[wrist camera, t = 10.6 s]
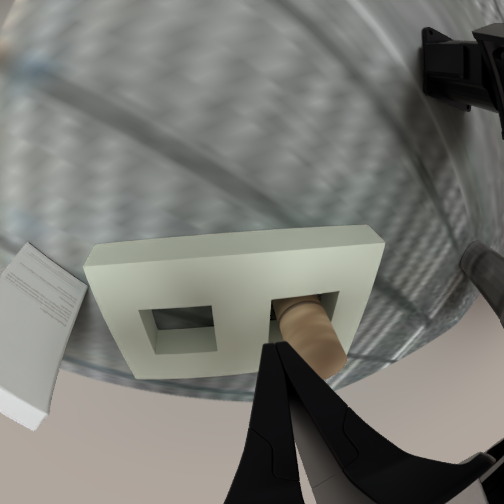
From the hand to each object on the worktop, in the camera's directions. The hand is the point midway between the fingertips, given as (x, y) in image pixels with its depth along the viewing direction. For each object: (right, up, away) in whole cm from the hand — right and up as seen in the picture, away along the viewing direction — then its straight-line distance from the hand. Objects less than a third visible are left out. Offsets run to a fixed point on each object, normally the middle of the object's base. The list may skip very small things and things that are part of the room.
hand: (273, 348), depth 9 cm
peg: (+3, -1, +15) cm, 16 cm away
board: (-2, -1, +15) cm, 15 cm away
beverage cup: (+28, +3, +18) cm, 33 cm away
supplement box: (-20, 0, +11) cm, 23 cm away
